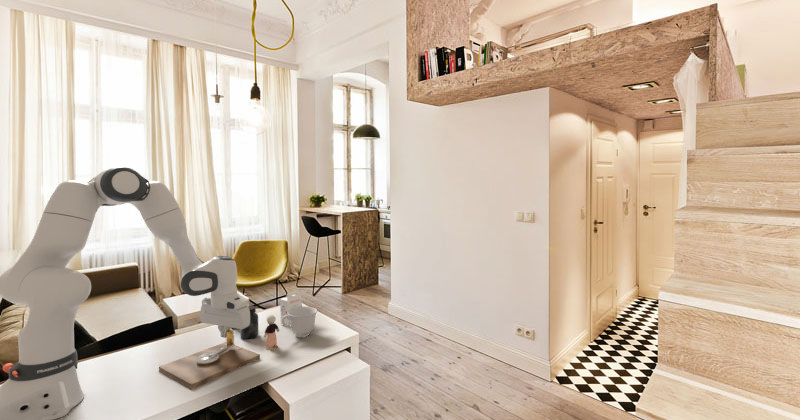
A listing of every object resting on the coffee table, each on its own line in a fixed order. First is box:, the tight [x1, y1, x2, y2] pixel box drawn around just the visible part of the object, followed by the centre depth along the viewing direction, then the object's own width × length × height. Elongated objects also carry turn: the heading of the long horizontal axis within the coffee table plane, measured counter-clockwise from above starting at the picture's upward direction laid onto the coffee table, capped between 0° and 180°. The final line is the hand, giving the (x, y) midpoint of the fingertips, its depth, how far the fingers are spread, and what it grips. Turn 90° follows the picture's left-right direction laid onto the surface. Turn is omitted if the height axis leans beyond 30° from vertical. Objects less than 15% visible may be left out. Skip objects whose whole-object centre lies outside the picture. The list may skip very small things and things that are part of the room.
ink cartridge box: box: [279, 289, 303, 325], centre depth 167 cm, size 9×5×15 cm, turn 147°
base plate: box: [158, 341, 261, 390], centre depth 128 cm, size 24×20×2 cm
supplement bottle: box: [239, 305, 259, 341], centre depth 151 cm, size 7×7×12 cm
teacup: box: [282, 306, 318, 338], centre depth 153 cm, size 12×15×10 cm
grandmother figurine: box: [263, 314, 280, 351], centre depth 141 cm, size 8×4×13 cm, turn 168°
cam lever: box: [196, 329, 236, 365], centre depth 130 cm, size 14×7×6 cm, turn 163°
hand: (224, 336), depth 137 cm, fingers closed
